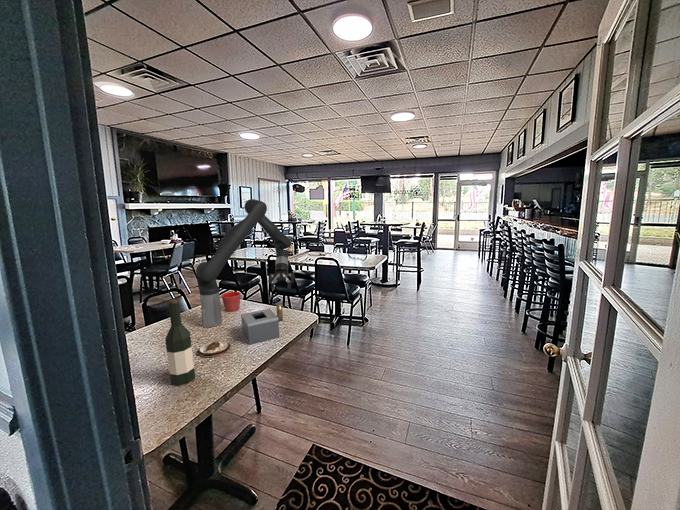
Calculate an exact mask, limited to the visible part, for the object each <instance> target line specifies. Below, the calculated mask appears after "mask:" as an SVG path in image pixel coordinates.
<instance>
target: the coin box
mask: <svg viewBox="0 0 680 510" xmlns="http://www.w3.org/2000/svg"><path fill="white" fill-rule="evenodd" d="M240 320H241V329H242V330H241V331H242V335H243V336H244V338H245V340H246V342H247V344H248V345H249V346H251V345H257V344H260V343H263V341H264V342H268V341H271V340H270V339H272V340H276V339H279V337H280V326H279V325H280V322H279V321H278V317H277V314H275V312H273V310H272V309H270V308H267V309H266V308H265V309H261V310H256V311H250V312H246V313H241V314H240ZM275 338H276V339H275ZM267 340H268V341H267ZM259 342H260V343H259Z"/></svg>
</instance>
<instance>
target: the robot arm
mask: <svg viewBox="0 0 680 510" xmlns="http://www.w3.org/2000/svg"><path fill="white" fill-rule="evenodd" d="M244 211H245V212H246V213H247V215H246V216H245V217H244V218H243V219H242V220H241V221H239V222H238V223H236V224H234V225H233V226H232V227H230V228H229V229H228V230H227V232H226V233H225V234H224V235H223V237H222V238H221V239H220V242H219V244H218V246H217V248H216V251H215V253H214V254H213V255H212V257H211V258H210V259H209V260H208V261H203V262H201V263H199V264H198V265H197V267H196V271H195V273H196V274H195V275H196V282H197V288H198V291H199V297H200V298H199V299H200V306H201V307H200V310H201V319H202V326H203V328H214V327H218V326H220V325H222V324H223V317H222V309H221V308H222V307H221V306H222V305H221V297H220V289H219V288H220V287H219V285H218V282H217V278H218V277H219V275H220V273H221V272H222V270H223V268H224V267H225V265H226V263H227V262H228V261H229V259H231V257H233V255H234V253H235V252H236V251H237V249H238V248H239V247H240V246H241V245H242V243H243V242H244V240H245V238H247V236H249V233H251V231H252V230H253V229H254V228H255V226H256V225H257V224H258V225H259V226H260V227H262V229H263V231H264V232H265V233H266V234H267V235H268V236H269V238H270V239H271V240H272V241H274V243H273V245H274V249H275V254H276V255H275V256H276V258H275V268H274V274H273V273H271V272H270V273H268V281H267V282H268V285H270V286H271V287H270V288H271V291H275V284H276V283H277V282H286V283H287V291H290V289H291V285H292V284H294V282H295V281H294V279H295V278H294V272H290V273H289V252H288V250H287V249H289V248H291V246H292V240H291V239H290V237H288V236H287V235H286V234H285V233H283V232H282V231H281V230H280V229H279V227H278V226H277V225H276V223H274V222H273V221H272V220H271V219H270V218H268V216H266V213H267V211H268V205H267V204H266V202H264V201H262V200H257V199H254V198H253V199H252V198H250V199H248V200H246V202H245V203H244ZM289 277H290V279H289Z"/></svg>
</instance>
